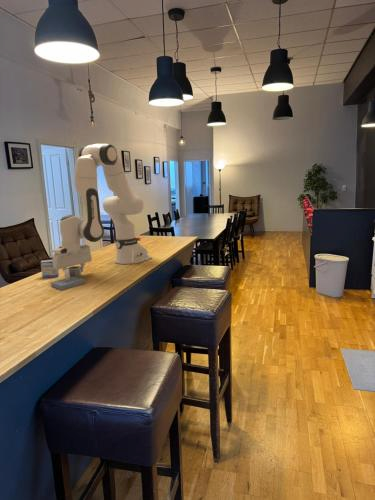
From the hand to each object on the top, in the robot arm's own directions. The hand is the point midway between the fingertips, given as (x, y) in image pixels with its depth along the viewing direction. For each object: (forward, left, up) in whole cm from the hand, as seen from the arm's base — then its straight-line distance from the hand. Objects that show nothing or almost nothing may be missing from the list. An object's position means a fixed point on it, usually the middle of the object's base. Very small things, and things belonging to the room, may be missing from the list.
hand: (74, 273), depth 180 cm
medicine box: (+7, -12, -2) cm, 14 cm away
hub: (0, 0, -2) cm, 2 cm away
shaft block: (+9, +10, -2) cm, 14 cm away
